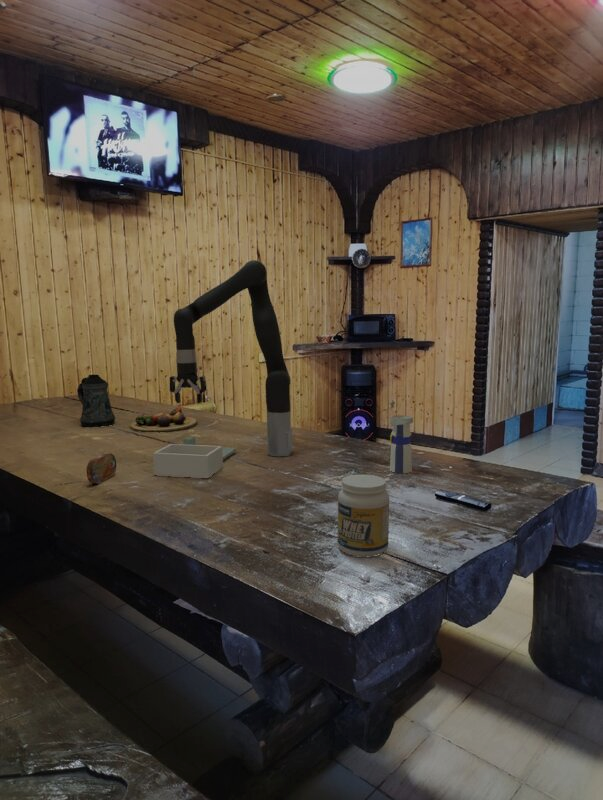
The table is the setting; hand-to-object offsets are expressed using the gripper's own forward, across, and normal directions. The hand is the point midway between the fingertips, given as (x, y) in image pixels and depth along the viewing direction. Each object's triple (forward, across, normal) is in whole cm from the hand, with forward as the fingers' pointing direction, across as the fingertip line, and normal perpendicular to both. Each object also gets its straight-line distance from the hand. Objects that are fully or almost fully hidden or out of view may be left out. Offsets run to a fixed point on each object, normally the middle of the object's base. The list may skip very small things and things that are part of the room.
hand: (188, 403), depth 222 cm
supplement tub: (+22, -76, +74) cm, 108 cm away
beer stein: (+20, +73, -48) cm, 90 cm away
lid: (+21, -6, 0) cm, 22 cm away
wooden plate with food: (+21, +37, -52) cm, 67 cm away
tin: (+21, +17, +36) cm, 45 cm away
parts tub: (+21, -8, +21) cm, 31 cm away
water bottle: (+22, -81, +6) cm, 84 cm away
